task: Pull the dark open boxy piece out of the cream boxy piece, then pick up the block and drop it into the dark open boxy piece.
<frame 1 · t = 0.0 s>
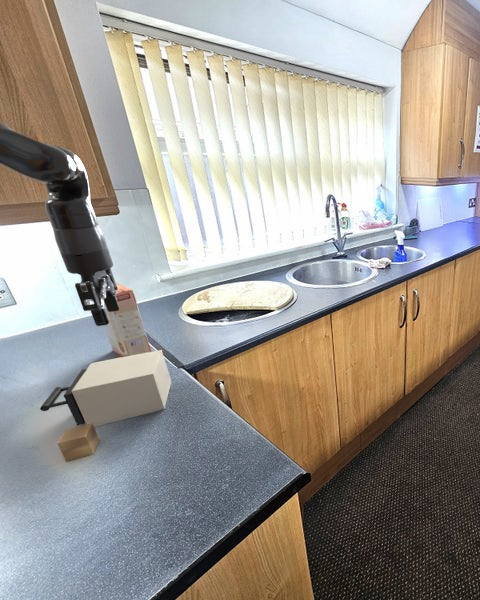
hand: (109, 317, 75), 19 cm above the worktop, tool pointing down, fingers open, 8 cm apart
cream boxy piece: (133, 402, 77), on the worktop
cracker box: (133, 353, 98), on the worktop
block: (83, 450, 64), on the worktop
dark open boxy piece: (101, 391, 73), point 5 cm above the worktop, slide at 0.5 cm
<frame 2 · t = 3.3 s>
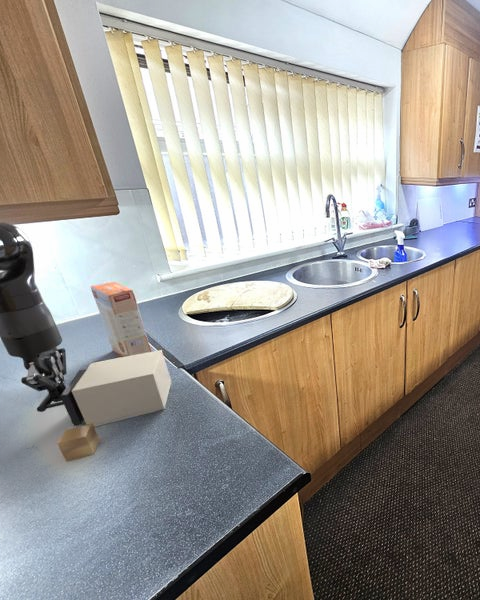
hand: (61, 399, 70), 5 cm above the worktop, tool pointing down, fingers closed
dark open boxy piece: (98, 392, 73), point 5 cm above the worktop, slide at 1.0 cm, touching gripper
everything else where it was.
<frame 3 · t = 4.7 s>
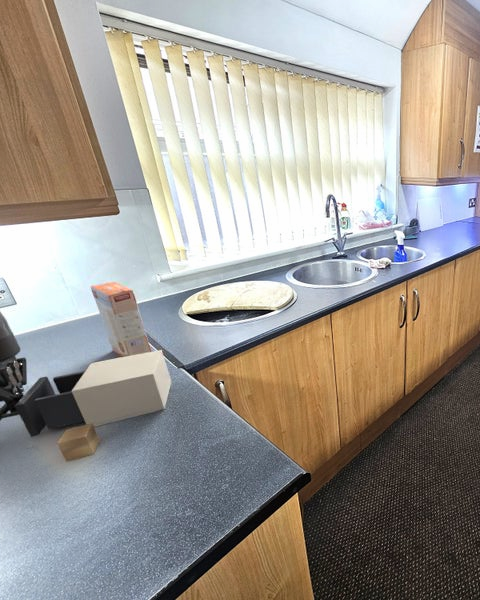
hand: (20, 410, 68), 4 cm above the worktop, tool pointing down, fingers closed
dark open boxy piece: (59, 400, 70), point 5 cm above the worktop, slide at 7.6 cm, touching gripper
everything else where it was.
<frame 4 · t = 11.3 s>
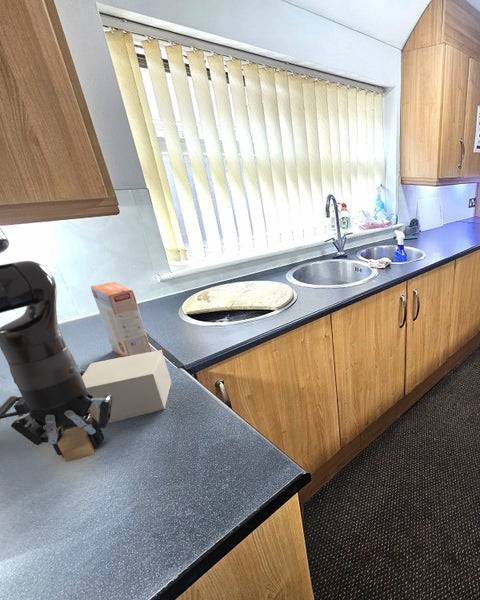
hand: (83, 449, 63), 0 cm above the worktop, tool pointing down, fingers closed on block, 4 cm apart
block: (83, 450, 64), on the worktop, touching gripper
dark open boxy piece: (58, 401, 70), point 5 cm above the worktop, slide at 7.8 cm
everything else where it was.
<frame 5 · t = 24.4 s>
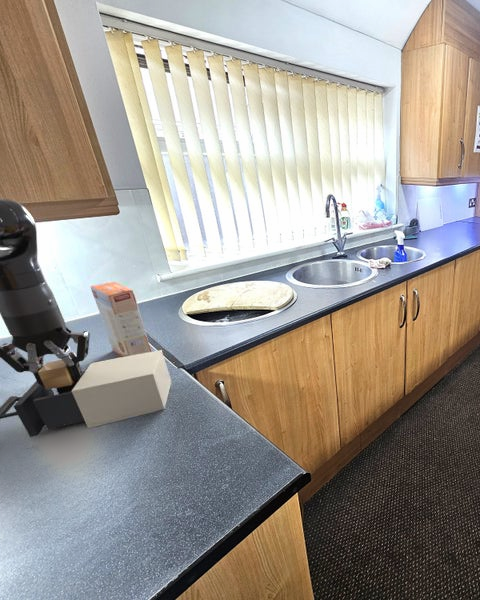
hand: (62, 381, 69), 9 cm above the worktop, tool pointing down, fingers closed on block, 4 cm apart
block: (63, 382, 69), point 9 cm above the worktop, touching gripper
everything else where it was.
when the fingers open (11 cm above the worktop, at t = 25.0 s): block drops 9 cm, resting on dark open boxy piece.
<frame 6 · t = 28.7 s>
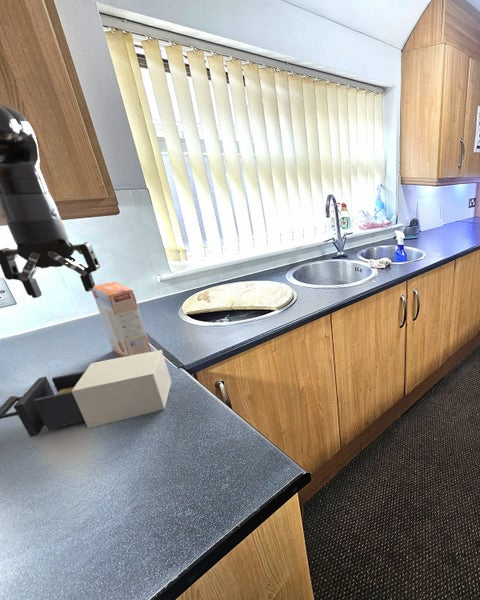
hand: (64, 293, 71), 26 cm above the worktop, tool pointing down, fingers open, 8 cm apart
block: (75, 408, 72), point 2 cm above the worktop, touching dark open boxy piece
dark open boxy piece: (58, 401, 70), point 5 cm above the worktop, slide at 7.8 cm, touching block
everything else where it was.
at the end: dark open boxy piece slide at 7.8 cm; block inside the target area in the dark open boxy piece (0.4 cm from its centre), point 2.0 cm above the cream boxy piece's base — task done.
